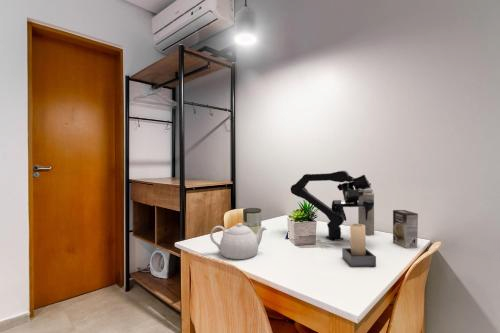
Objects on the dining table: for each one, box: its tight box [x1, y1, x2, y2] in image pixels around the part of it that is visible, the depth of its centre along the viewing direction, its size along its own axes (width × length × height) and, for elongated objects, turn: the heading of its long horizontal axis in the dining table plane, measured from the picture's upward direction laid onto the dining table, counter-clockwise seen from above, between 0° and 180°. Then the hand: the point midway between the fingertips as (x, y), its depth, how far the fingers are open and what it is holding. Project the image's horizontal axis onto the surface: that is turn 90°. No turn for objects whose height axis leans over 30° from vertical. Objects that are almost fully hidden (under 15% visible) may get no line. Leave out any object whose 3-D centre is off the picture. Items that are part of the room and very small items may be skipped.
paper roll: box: [349, 223, 367, 256], centre depth 106 cm, size 6×6×14 cm
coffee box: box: [392, 209, 419, 249], centre depth 126 cm, size 9×6×16 cm
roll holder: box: [341, 247, 377, 268], centre depth 106 cm, size 10×10×4 cm
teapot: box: [209, 222, 267, 260], centre depth 118 cm, size 19×18×14 cm
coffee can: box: [242, 207, 262, 235], centre depth 147 cm, size 10×10×14 cm
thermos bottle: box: [357, 182, 375, 236], centre depth 146 cm, size 8×8×28 cm
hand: (356, 220), depth 121 cm, fingers open, 9 cm apart
